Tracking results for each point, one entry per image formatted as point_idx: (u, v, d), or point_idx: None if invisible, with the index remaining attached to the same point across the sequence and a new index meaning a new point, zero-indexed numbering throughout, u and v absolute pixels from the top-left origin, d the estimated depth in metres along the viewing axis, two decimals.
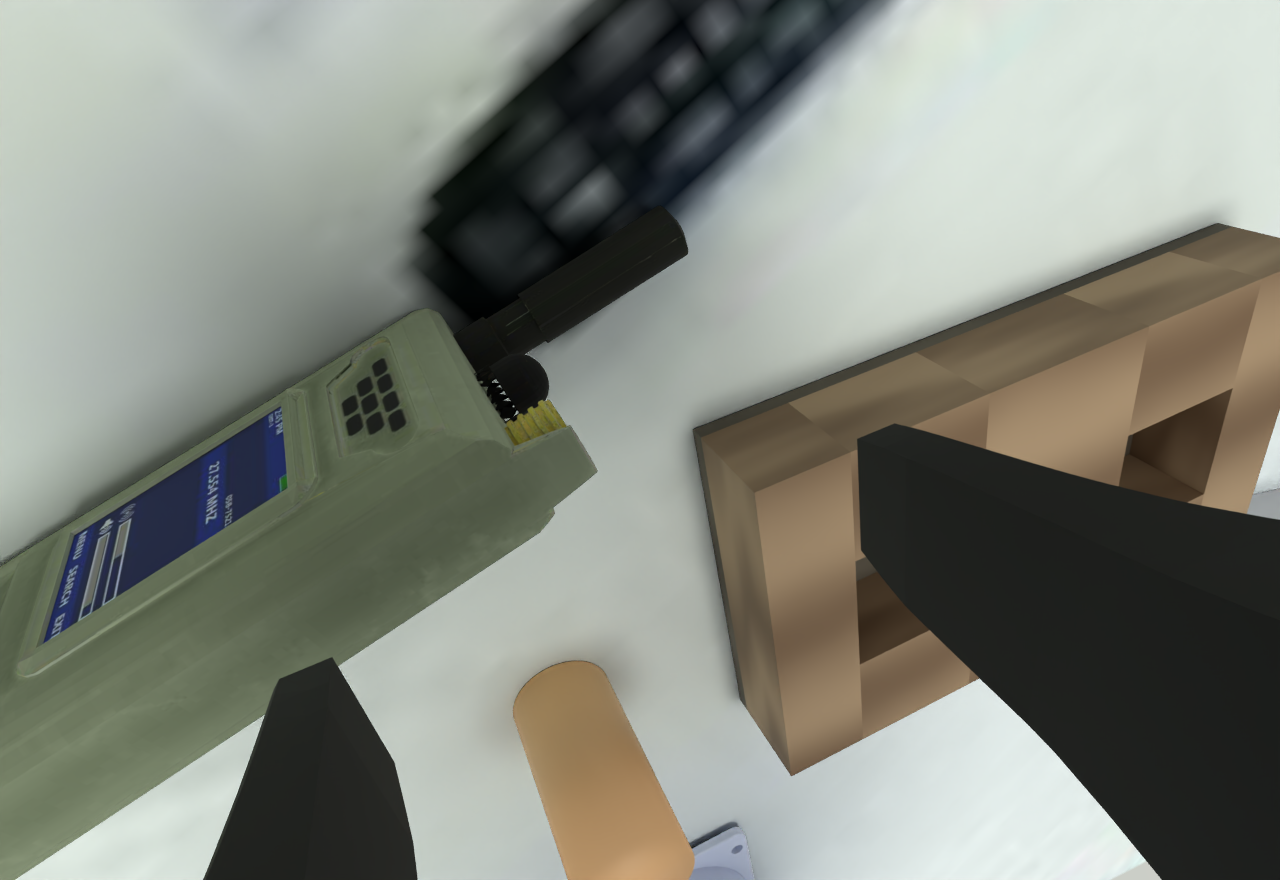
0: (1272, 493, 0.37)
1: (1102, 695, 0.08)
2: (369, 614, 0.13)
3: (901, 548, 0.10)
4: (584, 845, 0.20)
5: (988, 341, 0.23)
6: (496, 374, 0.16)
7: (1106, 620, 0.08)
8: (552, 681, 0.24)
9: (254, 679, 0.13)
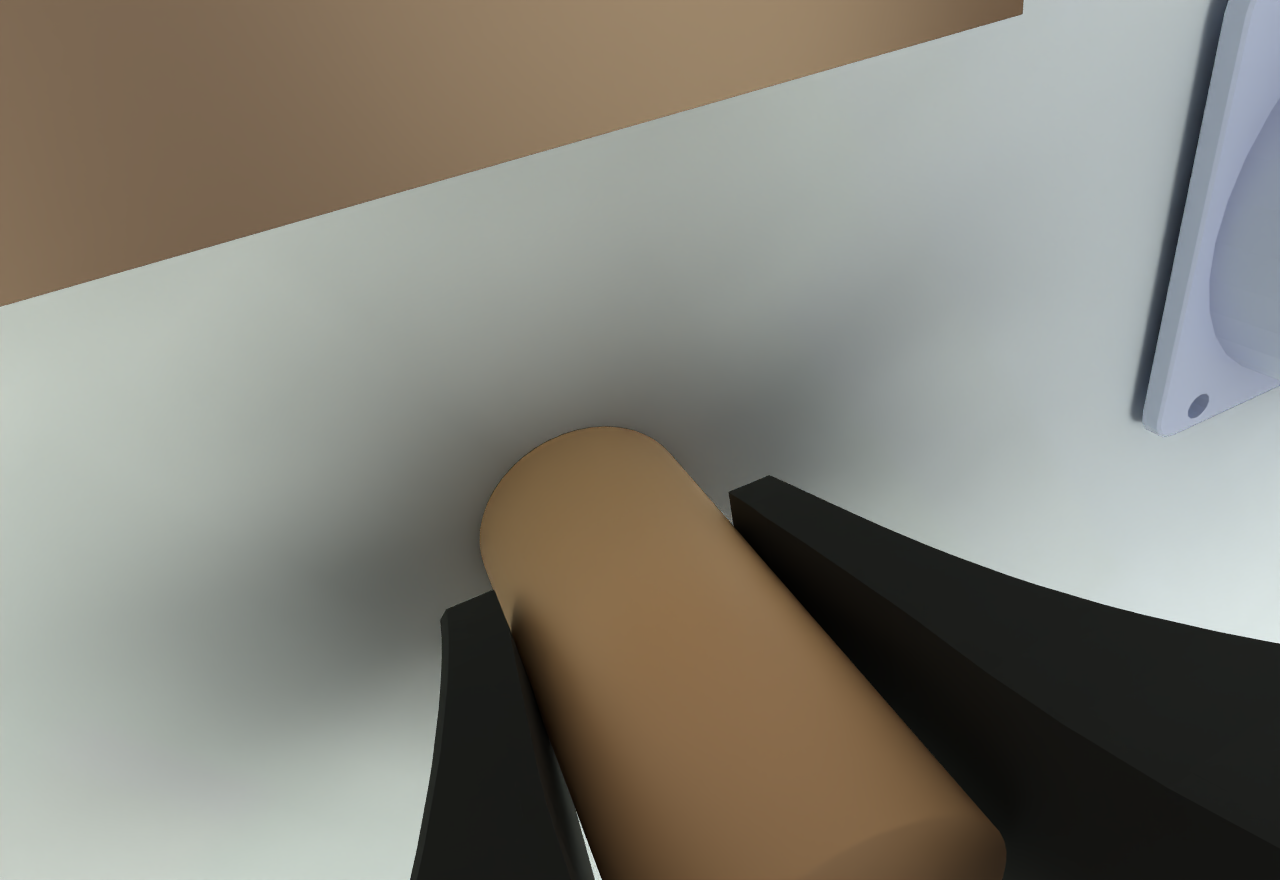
0: None
1: None
2: None
3: None
4: None
5: None
6: None
7: (941, 706, 0.07)
8: None
9: None
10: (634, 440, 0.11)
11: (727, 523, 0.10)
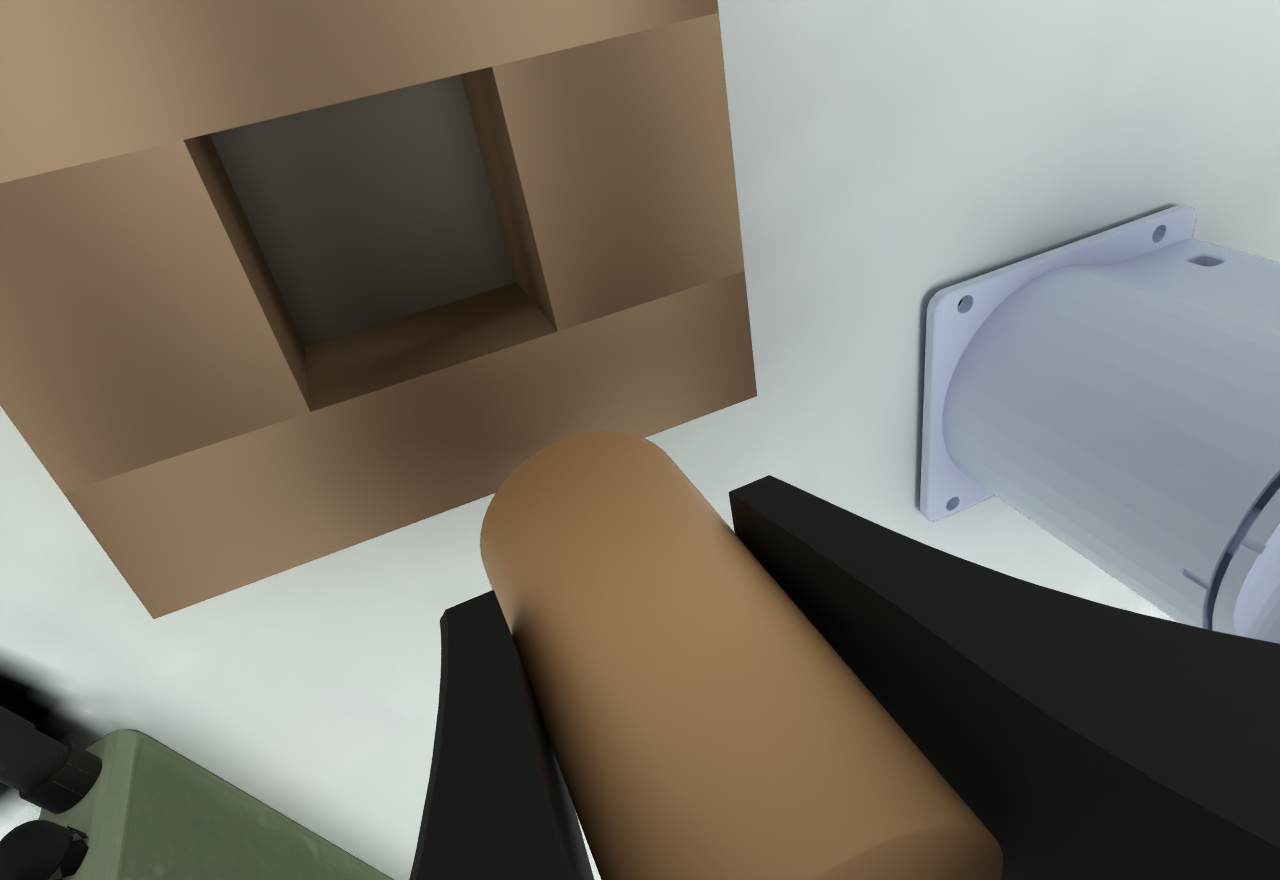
0: None
1: (947, 780, 0.08)
2: None
3: None
4: None
5: None
6: None
7: (942, 706, 0.07)
8: None
9: None
10: (634, 445, 0.11)
11: (727, 529, 0.10)
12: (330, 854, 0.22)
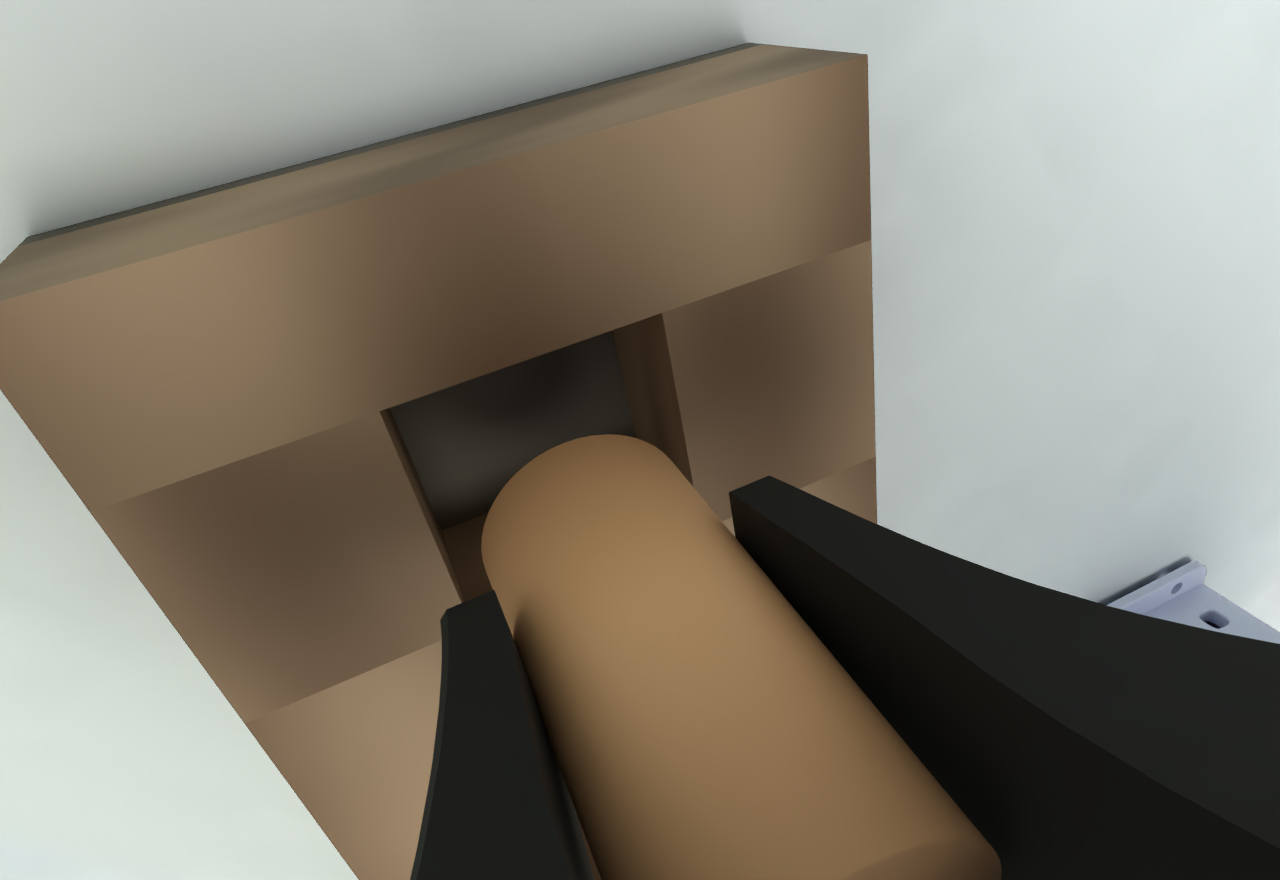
0: None
1: (947, 781, 0.08)
2: None
3: None
4: None
5: None
6: None
7: (941, 706, 0.07)
8: None
9: None
10: (635, 448, 0.11)
11: (728, 534, 0.10)
12: None
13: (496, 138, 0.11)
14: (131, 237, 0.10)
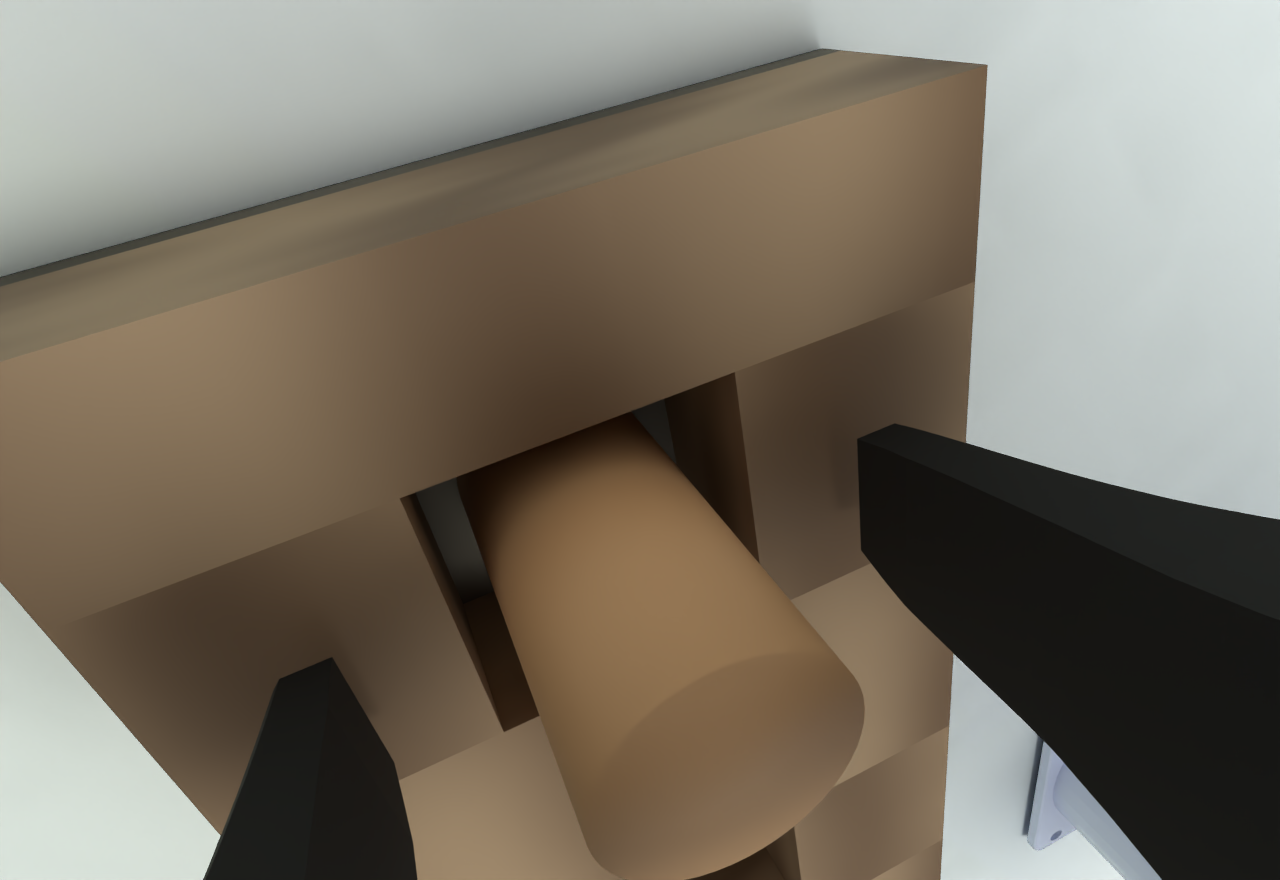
0: None
1: (1102, 695, 0.08)
2: None
3: (901, 548, 0.10)
4: None
5: None
6: None
7: (1106, 620, 0.08)
8: (470, 523, 0.13)
9: None
10: None
11: (664, 455, 0.11)
12: None
13: (541, 166, 0.09)
14: (95, 292, 0.08)
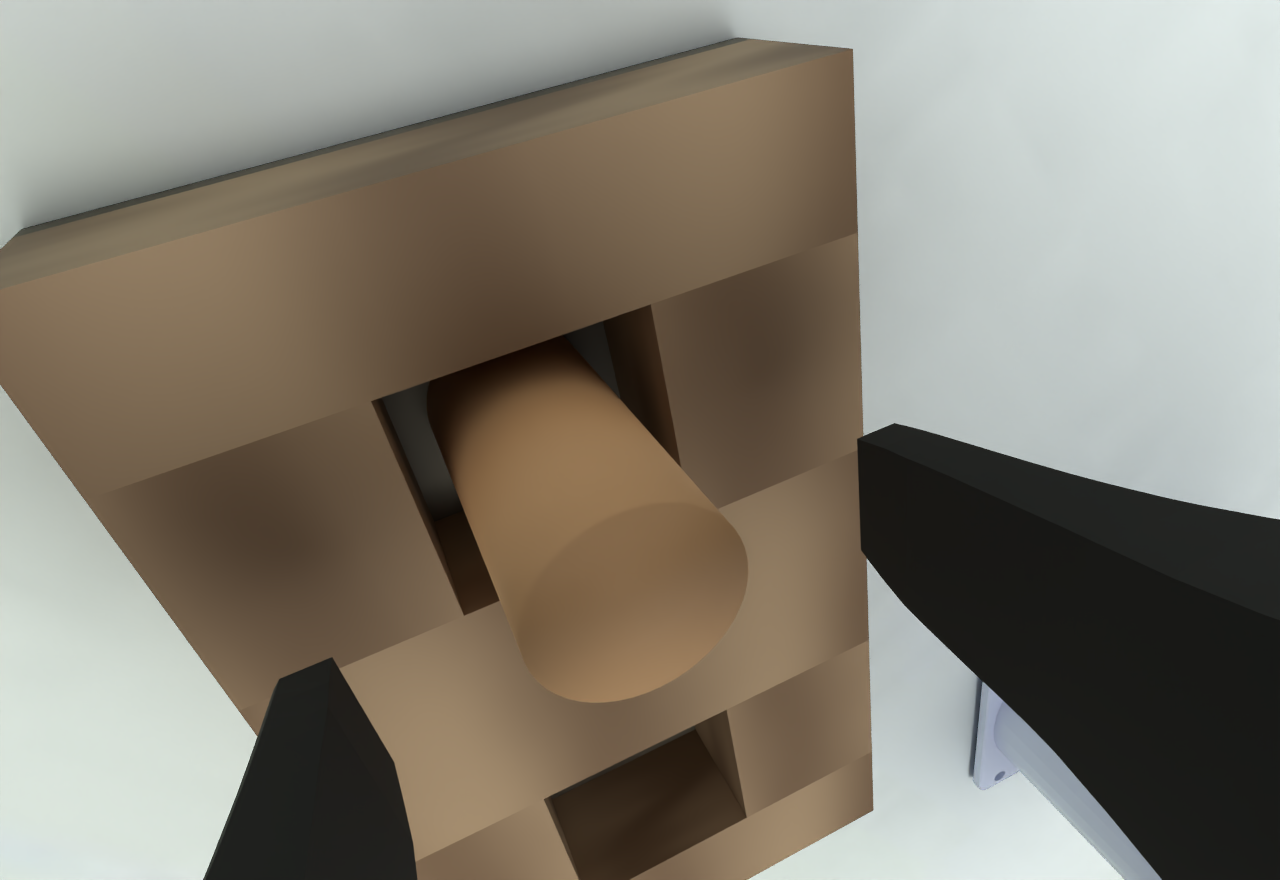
0: None
1: (1102, 695, 0.08)
2: None
3: (901, 548, 0.10)
4: None
5: None
6: None
7: (1106, 620, 0.08)
8: None
9: None
10: None
11: (599, 379, 0.13)
12: None
13: (486, 131, 0.11)
14: (125, 228, 0.10)
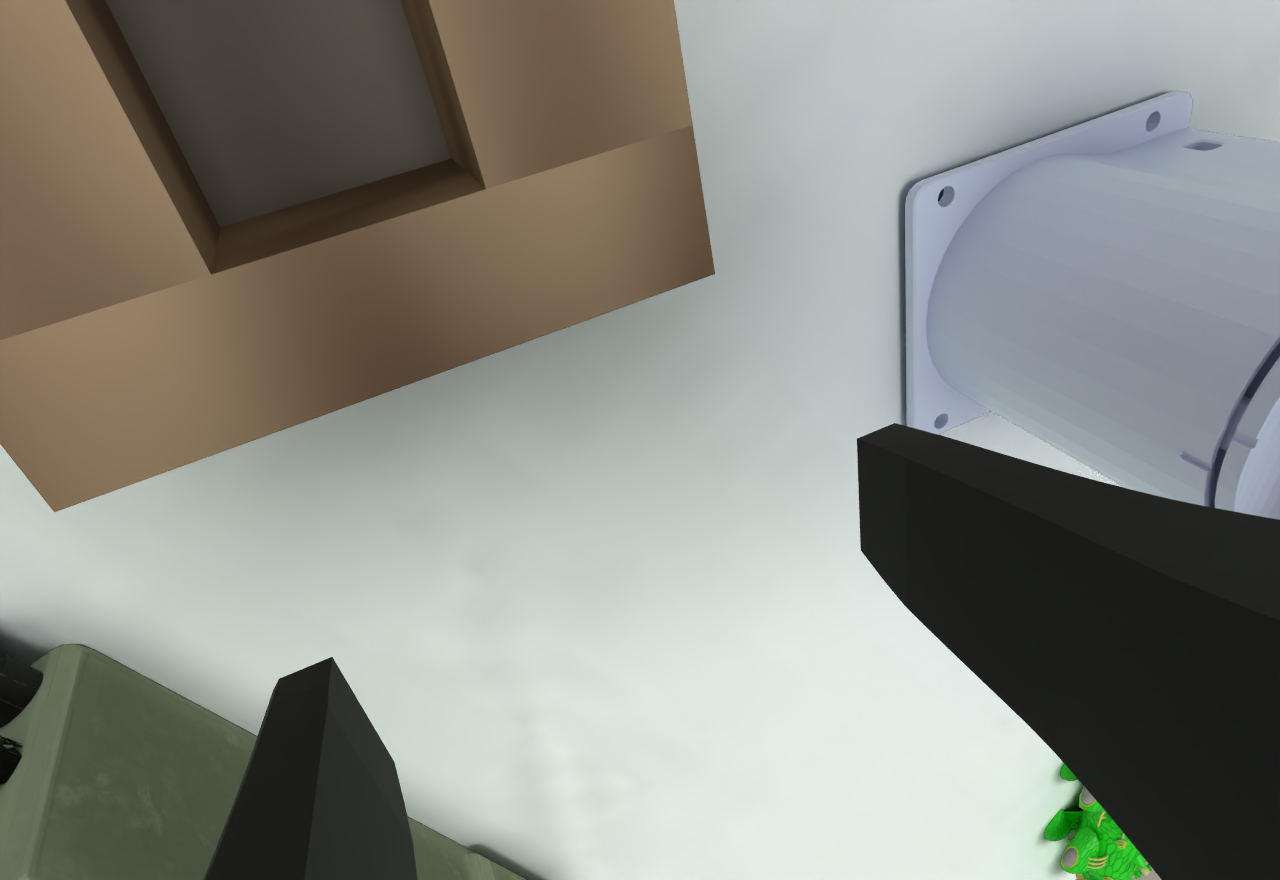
0: None
1: (1102, 695, 0.08)
2: None
3: (901, 548, 0.10)
4: None
5: None
6: None
7: (1106, 620, 0.08)
8: None
9: None
10: None
11: None
12: None
13: None
14: None
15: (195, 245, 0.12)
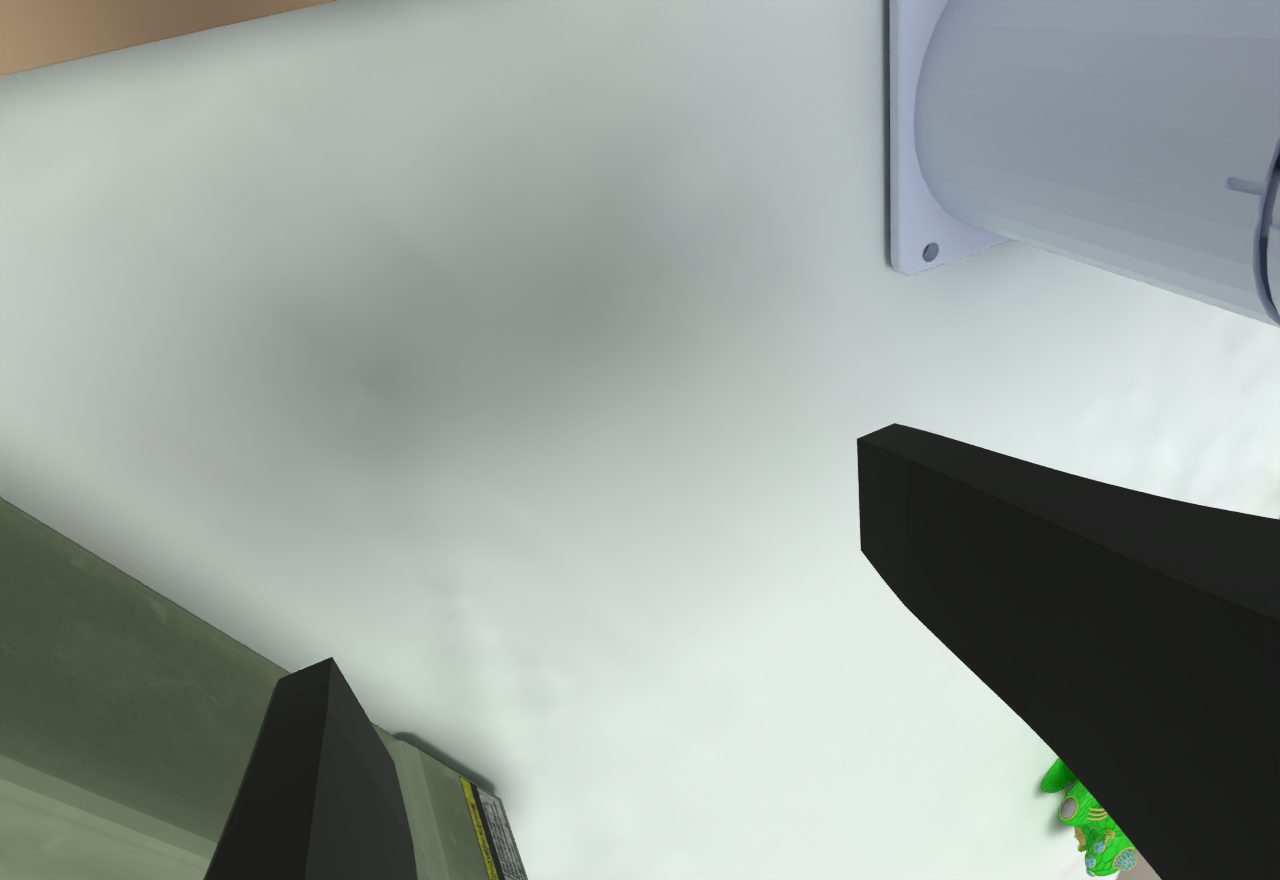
0: None
1: (1102, 695, 0.08)
2: None
3: (901, 548, 0.10)
4: None
5: None
6: None
7: (1106, 620, 0.08)
8: None
9: (37, 849, 0.12)
10: None
11: None
12: (189, 624, 0.18)
13: None
14: None
15: None
